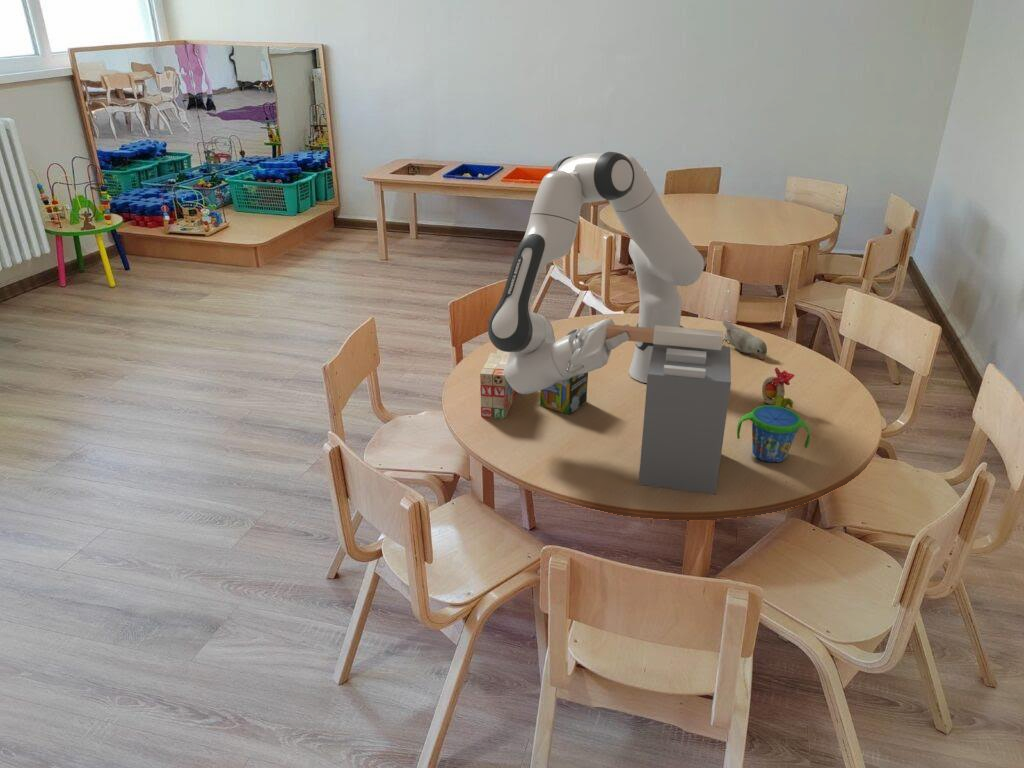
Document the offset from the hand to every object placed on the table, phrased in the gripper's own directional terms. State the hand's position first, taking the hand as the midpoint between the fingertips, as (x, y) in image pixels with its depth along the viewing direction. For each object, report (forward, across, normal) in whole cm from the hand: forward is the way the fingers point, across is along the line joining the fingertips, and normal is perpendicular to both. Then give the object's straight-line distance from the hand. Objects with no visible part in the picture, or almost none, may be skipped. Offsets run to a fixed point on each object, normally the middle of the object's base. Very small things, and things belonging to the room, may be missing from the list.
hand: (629, 331), depth 164 cm
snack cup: (+14, +6, +42) cm, 45 cm away
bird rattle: (+16, +31, +43) cm, 55 cm away
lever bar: (+5, 0, +5) cm, 7 cm away
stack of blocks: (-44, +19, +9) cm, 48 cm away
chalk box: (-30, +20, +17) cm, 39 cm away
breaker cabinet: (-3, -4, +32) cm, 33 cm away
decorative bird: (+10, +65, +40) cm, 77 cm away
